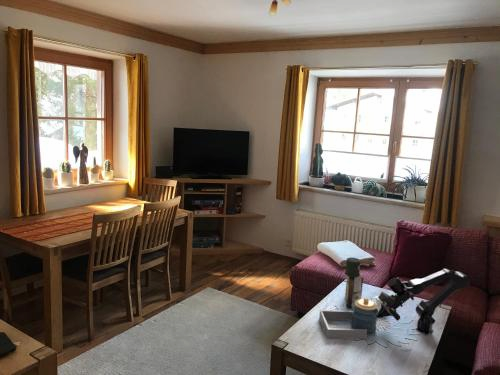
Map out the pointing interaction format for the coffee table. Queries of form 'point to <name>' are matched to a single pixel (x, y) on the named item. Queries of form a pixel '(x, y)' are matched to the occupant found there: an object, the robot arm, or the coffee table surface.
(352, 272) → the stick grenade
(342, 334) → the corral
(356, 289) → the coffee box
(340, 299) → the coffee table surface
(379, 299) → the cup
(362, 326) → the canister
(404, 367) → the coffee table surface
